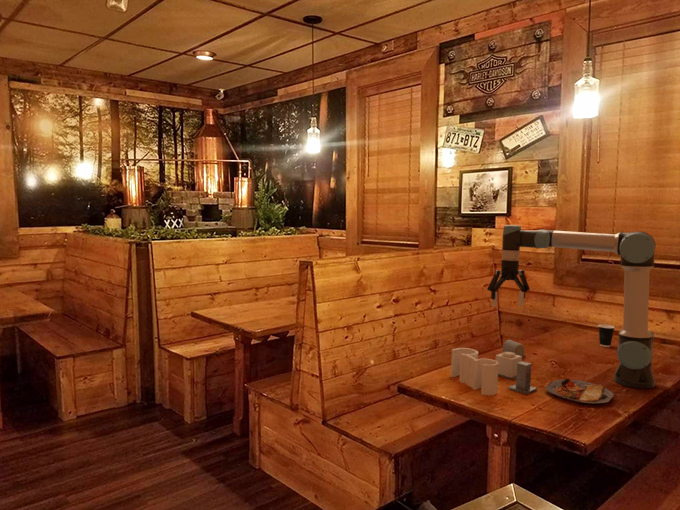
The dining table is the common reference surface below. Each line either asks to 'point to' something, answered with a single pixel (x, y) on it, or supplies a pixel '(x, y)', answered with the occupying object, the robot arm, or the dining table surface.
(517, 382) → the post
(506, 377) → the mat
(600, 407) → the dining table surface
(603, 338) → the dixie cup
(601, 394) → the food plate
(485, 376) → the bracket
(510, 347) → the ceramic mug
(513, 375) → the beige block piece
